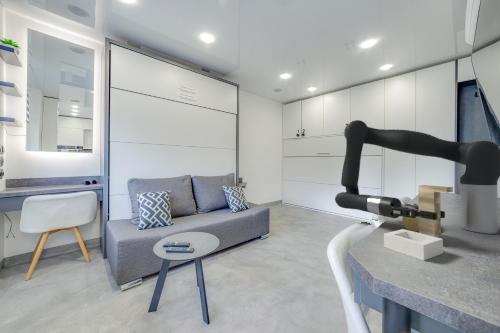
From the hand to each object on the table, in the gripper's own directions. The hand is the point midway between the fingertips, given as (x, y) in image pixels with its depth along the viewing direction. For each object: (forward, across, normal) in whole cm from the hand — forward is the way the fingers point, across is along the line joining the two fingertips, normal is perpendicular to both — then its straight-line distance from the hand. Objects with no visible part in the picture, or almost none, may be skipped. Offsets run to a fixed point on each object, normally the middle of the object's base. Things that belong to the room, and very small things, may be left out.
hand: (440, 215), depth 62 cm
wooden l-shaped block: (-1, 0, +9) cm, 9 cm away
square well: (-2, -12, +9) cm, 15 cm away
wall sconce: (-6, +15, +8) cm, 18 cm away
